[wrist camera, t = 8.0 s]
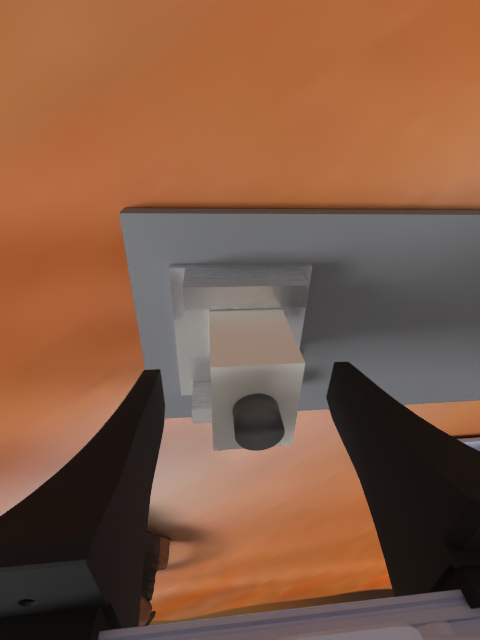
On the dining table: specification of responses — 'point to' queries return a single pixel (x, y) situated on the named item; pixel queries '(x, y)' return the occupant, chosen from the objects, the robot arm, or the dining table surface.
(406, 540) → the robot arm
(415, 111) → the dining table surface
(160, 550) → the pottery mug
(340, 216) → the board
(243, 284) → the end holder
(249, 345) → the connector
